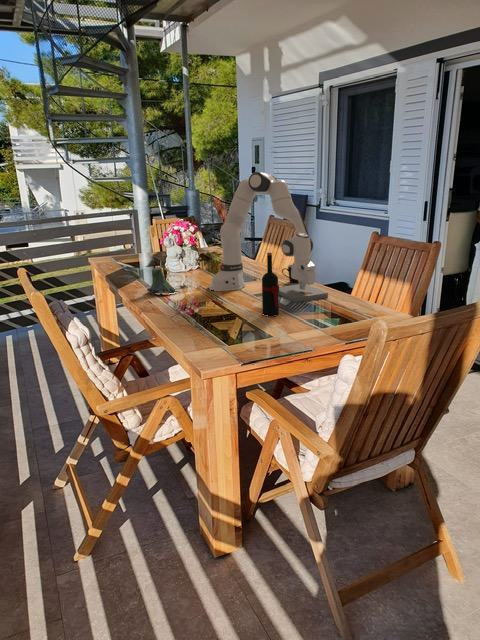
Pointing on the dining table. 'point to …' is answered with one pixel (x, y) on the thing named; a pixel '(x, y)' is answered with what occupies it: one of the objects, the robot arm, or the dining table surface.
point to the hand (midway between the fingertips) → (302, 289)
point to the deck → (301, 293)
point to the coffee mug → (290, 274)
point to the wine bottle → (270, 290)
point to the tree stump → (160, 282)
